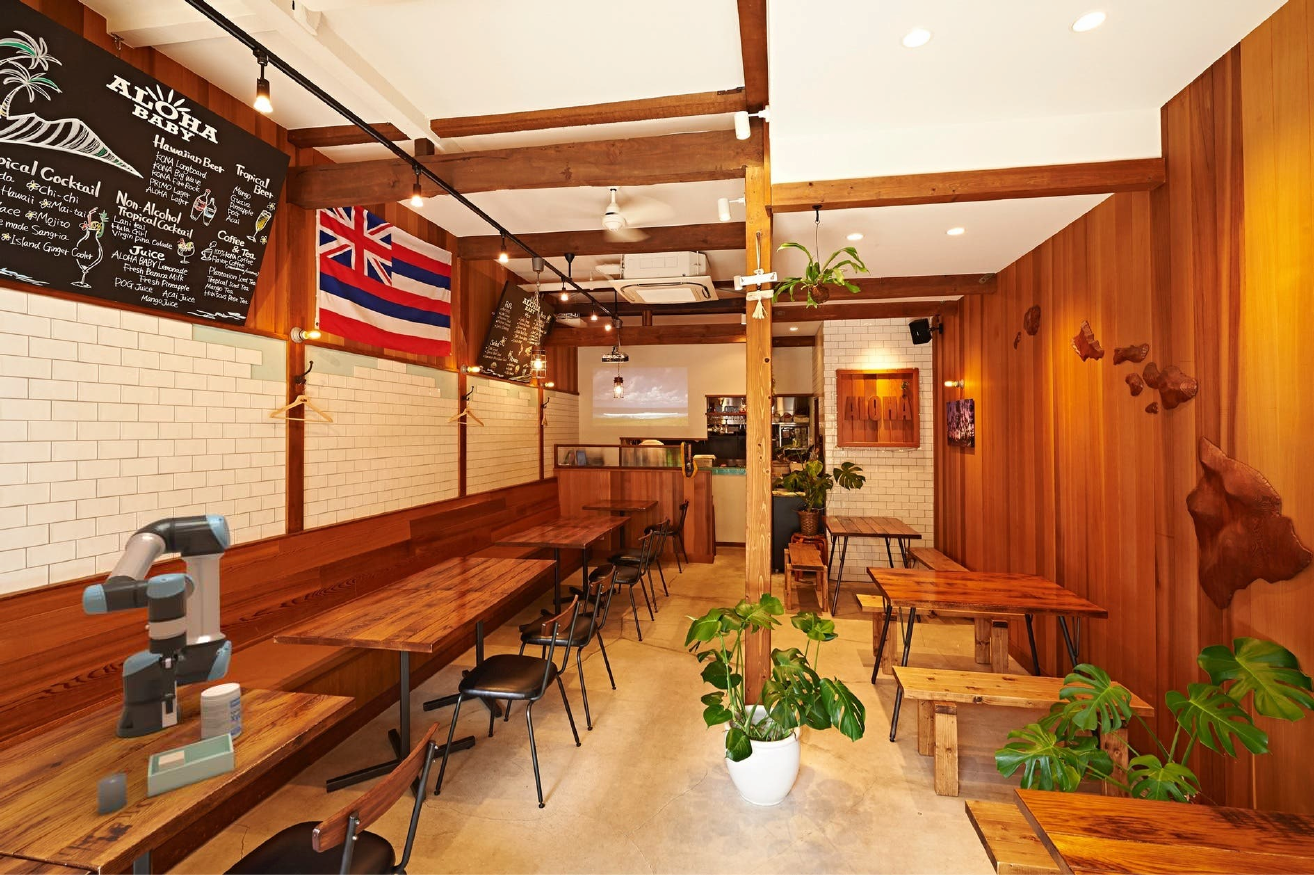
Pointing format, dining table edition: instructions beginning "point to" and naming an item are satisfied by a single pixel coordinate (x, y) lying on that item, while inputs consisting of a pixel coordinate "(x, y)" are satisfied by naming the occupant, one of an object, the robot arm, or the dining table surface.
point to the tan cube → (171, 761)
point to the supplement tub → (221, 711)
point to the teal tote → (192, 764)
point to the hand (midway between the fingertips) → (170, 715)
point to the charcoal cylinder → (112, 793)
